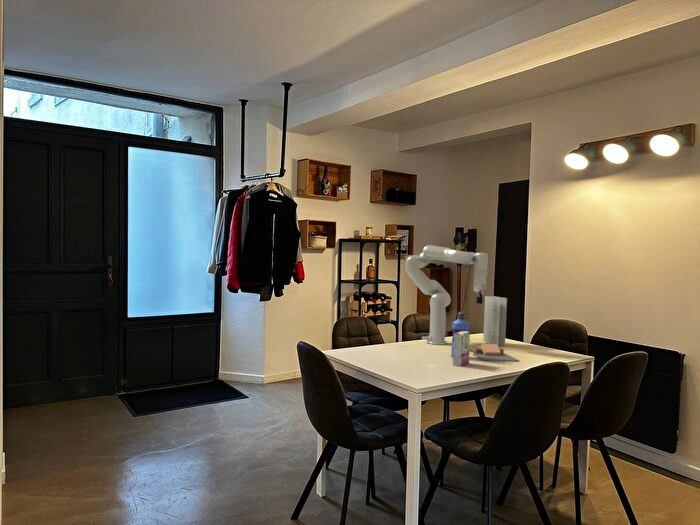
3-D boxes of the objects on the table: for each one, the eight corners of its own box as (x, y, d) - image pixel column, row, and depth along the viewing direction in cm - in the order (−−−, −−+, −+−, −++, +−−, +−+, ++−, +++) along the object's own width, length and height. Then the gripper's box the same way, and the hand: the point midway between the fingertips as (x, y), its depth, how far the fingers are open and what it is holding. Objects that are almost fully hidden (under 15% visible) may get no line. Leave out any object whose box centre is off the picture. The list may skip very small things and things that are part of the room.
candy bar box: (460, 361, 277) (461, 330, 277) (469, 363, 274) (470, 331, 274) (452, 365, 268) (453, 333, 267) (461, 366, 265) (463, 334, 265)
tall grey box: (483, 342, 341) (485, 296, 340) (489, 342, 343) (491, 296, 343) (497, 346, 328) (500, 298, 328) (504, 346, 331) (507, 298, 330)
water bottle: (447, 356, 289) (449, 311, 289) (456, 354, 296) (458, 310, 295) (462, 359, 283) (464, 313, 282) (471, 357, 290) (473, 312, 289)
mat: (482, 360, 282) (483, 359, 282) (473, 354, 297) (473, 353, 297) (519, 361, 284) (519, 360, 284) (507, 355, 299) (507, 354, 299)
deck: (476, 354, 298) (476, 349, 298) (468, 350, 311) (468, 345, 311) (503, 355, 300) (503, 349, 300) (494, 350, 313) (495, 345, 313)
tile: (484, 355, 294) (485, 352, 293) (480, 346, 300) (481, 343, 299) (500, 355, 295) (500, 352, 294) (496, 347, 301) (497, 344, 300)
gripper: (470, 272, 325) (469, 302, 326) (478, 273, 310) (477, 304, 311) (482, 272, 326) (481, 302, 327) (491, 274, 311) (489, 305, 312)
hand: (479, 303), depth 319 cm, fingers closed
